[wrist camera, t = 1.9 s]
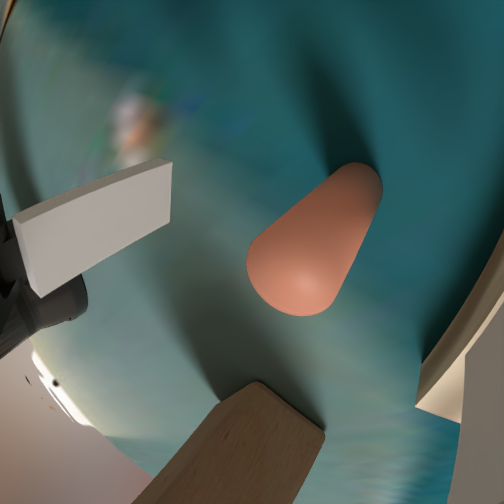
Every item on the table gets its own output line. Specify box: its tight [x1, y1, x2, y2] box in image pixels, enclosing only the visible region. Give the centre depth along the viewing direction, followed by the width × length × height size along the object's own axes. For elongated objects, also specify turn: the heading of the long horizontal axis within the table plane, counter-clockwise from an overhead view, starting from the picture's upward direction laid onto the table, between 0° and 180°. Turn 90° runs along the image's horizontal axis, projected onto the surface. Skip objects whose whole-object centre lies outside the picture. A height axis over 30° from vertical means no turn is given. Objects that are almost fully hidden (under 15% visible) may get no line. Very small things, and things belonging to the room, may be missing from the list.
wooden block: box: [132, 382, 325, 504], centre depth 24 cm, size 10×10×20 cm
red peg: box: [246, 162, 383, 316], centre depth 13 cm, size 3×3×10 cm
